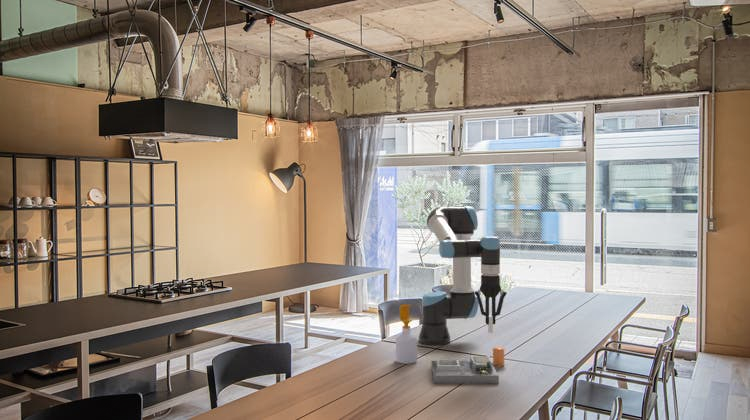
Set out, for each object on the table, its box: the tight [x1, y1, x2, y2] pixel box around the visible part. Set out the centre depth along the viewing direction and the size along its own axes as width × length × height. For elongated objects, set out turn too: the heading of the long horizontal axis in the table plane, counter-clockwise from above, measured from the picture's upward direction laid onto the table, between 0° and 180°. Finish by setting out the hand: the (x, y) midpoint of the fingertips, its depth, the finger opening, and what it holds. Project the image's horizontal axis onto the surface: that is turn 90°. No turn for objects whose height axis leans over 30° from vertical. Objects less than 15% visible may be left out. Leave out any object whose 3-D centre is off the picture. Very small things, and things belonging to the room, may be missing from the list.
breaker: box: [473, 355, 490, 362], centre depth 242 cm, size 9×5×2 cm, turn 178°
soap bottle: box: [395, 304, 418, 365], centre depth 262 cm, size 9×9×25 cm
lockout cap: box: [492, 346, 505, 367], centre depth 255 cm, size 5×5×7 cm
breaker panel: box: [430, 355, 500, 385], centre depth 241 cm, size 20×24×6 cm
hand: (490, 332), depth 251 cm, fingers closed
